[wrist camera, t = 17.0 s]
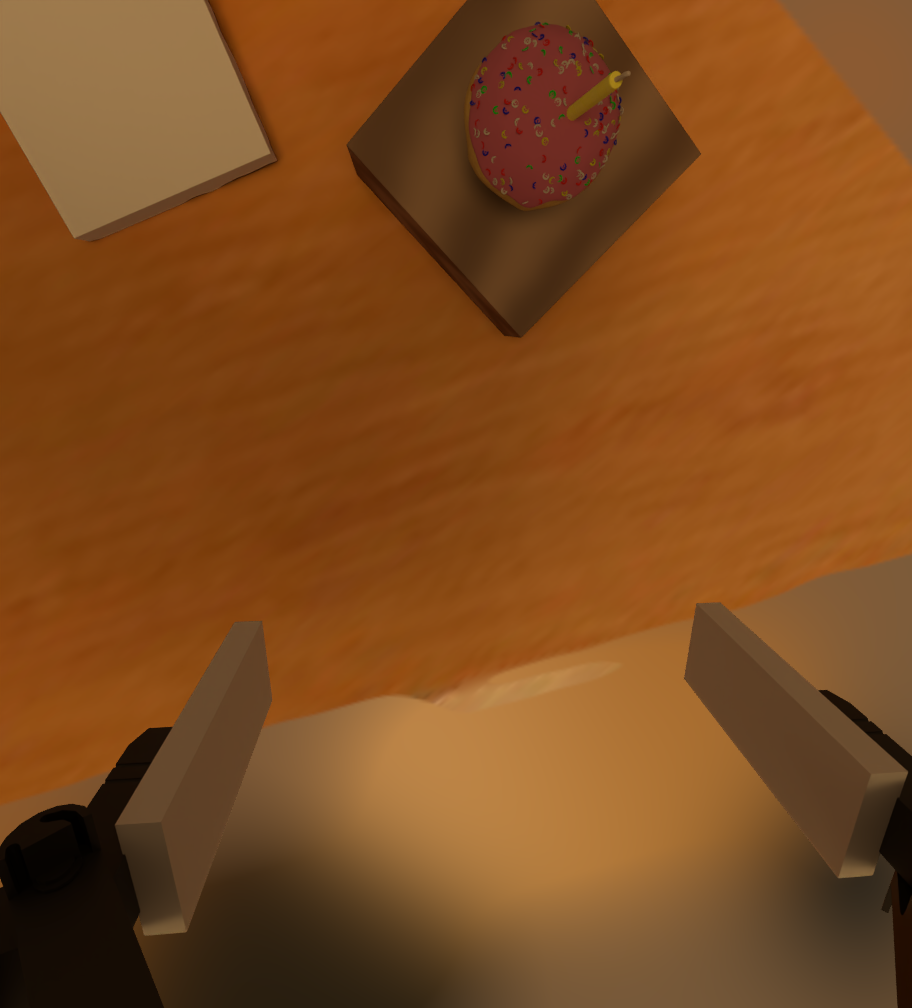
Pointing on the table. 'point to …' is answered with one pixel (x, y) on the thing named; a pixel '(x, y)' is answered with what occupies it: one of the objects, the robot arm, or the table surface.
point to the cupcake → (541, 116)
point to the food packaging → (125, 106)
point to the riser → (479, 211)
